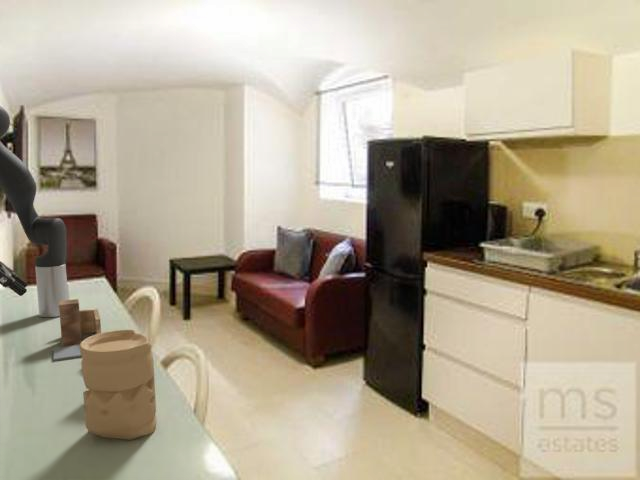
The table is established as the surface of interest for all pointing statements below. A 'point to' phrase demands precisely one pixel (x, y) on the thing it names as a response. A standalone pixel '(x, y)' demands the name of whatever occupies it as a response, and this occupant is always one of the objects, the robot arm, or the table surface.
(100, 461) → the table surface
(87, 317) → the shelf end
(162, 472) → the table surface
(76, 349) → the mat
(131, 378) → the container
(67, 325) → the plate
